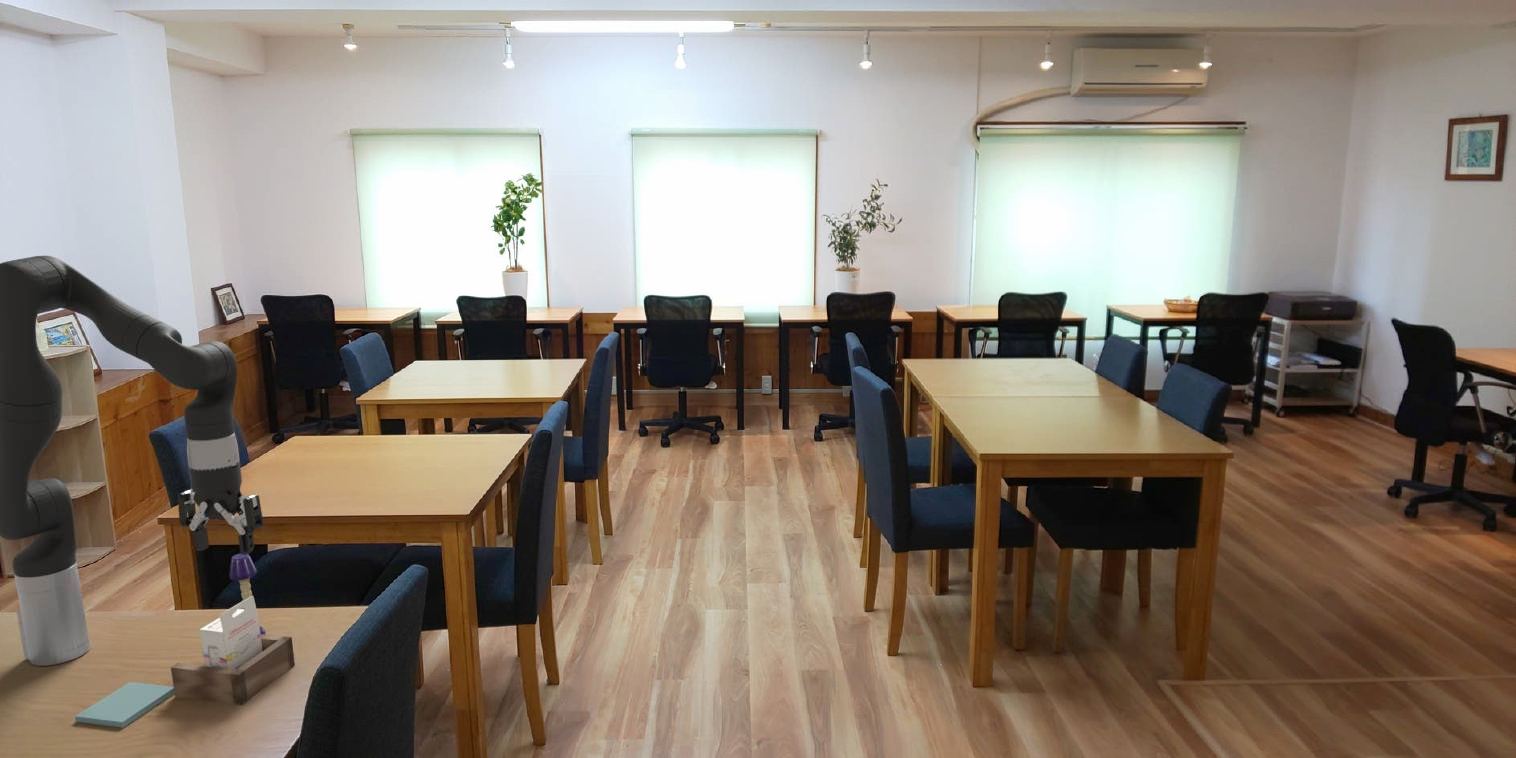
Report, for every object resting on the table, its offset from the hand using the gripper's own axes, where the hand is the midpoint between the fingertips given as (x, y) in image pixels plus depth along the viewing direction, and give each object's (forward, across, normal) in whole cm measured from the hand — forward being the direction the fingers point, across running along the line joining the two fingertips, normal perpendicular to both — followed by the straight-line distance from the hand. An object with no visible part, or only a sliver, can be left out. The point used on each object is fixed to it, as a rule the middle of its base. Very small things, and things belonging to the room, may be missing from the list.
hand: (224, 551), depth 166 cm
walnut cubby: (+24, 0, -1) cm, 24 cm away
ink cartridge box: (+24, 0, -1) cm, 24 cm away
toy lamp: (+24, -9, +14) cm, 29 cm away
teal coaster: (+24, -12, -12) cm, 29 cm away
